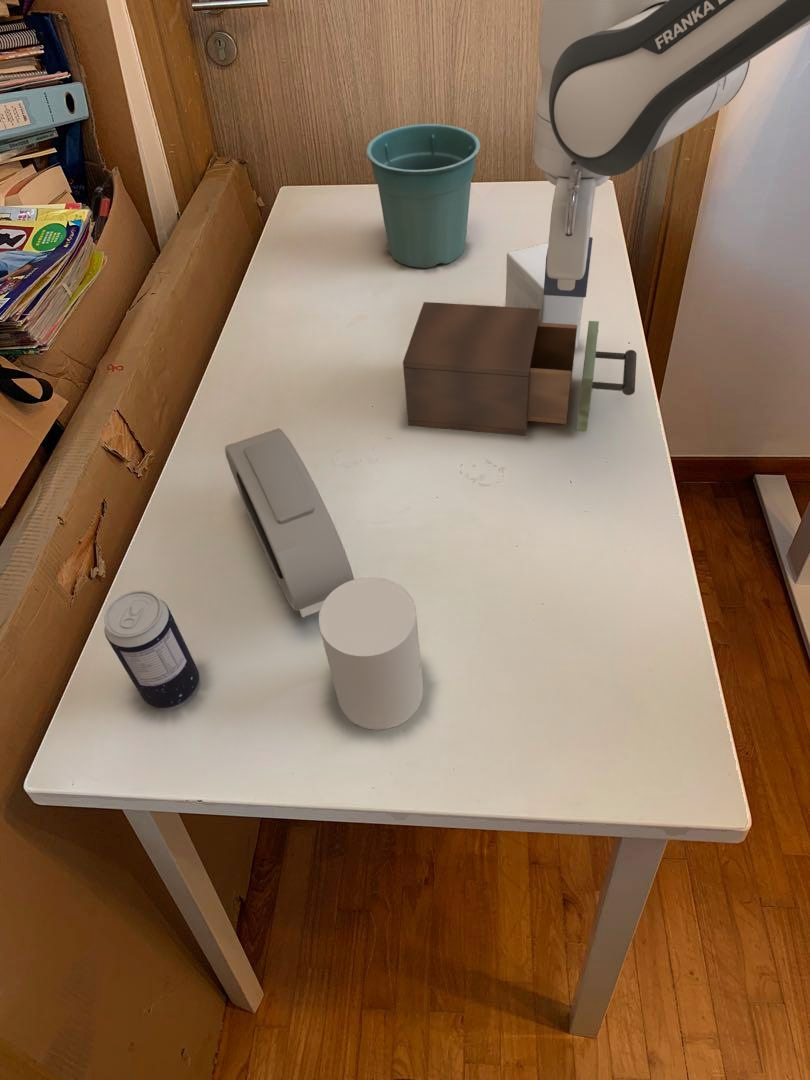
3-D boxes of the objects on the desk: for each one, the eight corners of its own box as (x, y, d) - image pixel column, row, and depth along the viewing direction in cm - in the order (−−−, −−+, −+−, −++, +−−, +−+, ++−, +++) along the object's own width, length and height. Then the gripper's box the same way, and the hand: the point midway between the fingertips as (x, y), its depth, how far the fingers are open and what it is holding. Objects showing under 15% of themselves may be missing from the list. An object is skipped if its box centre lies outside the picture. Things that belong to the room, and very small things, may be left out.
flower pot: (444, 213, 138) (440, 113, 126) (500, 254, 128) (502, 149, 116) (358, 244, 133) (346, 142, 121) (409, 288, 123) (402, 182, 111)
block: (588, 275, 90) (592, 237, 87) (585, 297, 88) (590, 259, 84) (547, 273, 91) (550, 235, 88) (543, 295, 88) (546, 257, 85)
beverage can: (210, 667, 80) (176, 591, 71) (187, 717, 77) (148, 645, 68) (157, 658, 81) (117, 582, 72) (132, 707, 78) (87, 634, 69)
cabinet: (536, 372, 107) (540, 308, 100) (525, 435, 99) (528, 371, 92) (427, 364, 110) (423, 301, 103) (408, 425, 102) (402, 361, 95)
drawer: (631, 376, 104) (640, 323, 98) (628, 435, 97) (638, 382, 91) (487, 366, 108) (488, 314, 102) (474, 422, 100) (473, 370, 94)
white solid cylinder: (441, 686, 77) (436, 610, 68) (381, 746, 73) (367, 674, 64) (379, 640, 81) (367, 562, 72) (319, 694, 77) (298, 619, 68)
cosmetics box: (580, 347, 110) (588, 277, 103) (537, 360, 109) (542, 290, 101) (543, 308, 117) (548, 240, 109) (503, 320, 116) (504, 252, 108)
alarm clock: (238, 497, 96) (212, 412, 86) (288, 479, 97) (267, 394, 88) (304, 644, 81) (281, 562, 72) (362, 621, 83) (346, 537, 73)
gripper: (609, 192, 71) (592, 329, 81) (618, 98, 84) (603, 226, 94) (536, 190, 72) (528, 325, 82) (556, 97, 85) (547, 224, 95)
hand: (568, 271), depth 88 cm, fingers closed on block, 4 cm apart
